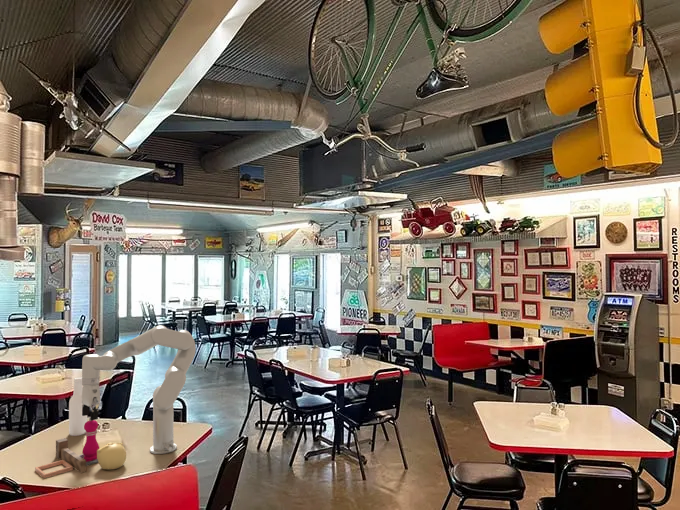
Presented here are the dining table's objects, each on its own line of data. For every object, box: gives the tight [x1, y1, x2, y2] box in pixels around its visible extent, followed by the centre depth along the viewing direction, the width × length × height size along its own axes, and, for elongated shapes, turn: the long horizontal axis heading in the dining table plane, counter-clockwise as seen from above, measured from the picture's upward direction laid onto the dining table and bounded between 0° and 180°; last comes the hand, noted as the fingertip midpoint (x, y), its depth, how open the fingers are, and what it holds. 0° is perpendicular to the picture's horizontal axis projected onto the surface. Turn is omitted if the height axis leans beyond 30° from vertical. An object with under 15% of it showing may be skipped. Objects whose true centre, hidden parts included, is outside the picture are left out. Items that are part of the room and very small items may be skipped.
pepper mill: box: [82, 417, 101, 462], centre depth 235 cm, size 7×7×20 cm
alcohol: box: [68, 376, 88, 437], centre depth 272 cm, size 9×9×30 cm
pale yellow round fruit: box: [97, 442, 127, 470], centre depth 227 cm, size 11×12×11 cm
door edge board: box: [55, 437, 87, 474], centre depth 231 cm, size 28×4×8 cm, turn 48°
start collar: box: [78, 453, 99, 467], centre depth 235 cm, size 12×12×2 cm
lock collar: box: [34, 459, 74, 479], centre depth 223 cm, size 12×12×2 cm
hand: (89, 417), depth 235 cm, fingers open, 9 cm apart
